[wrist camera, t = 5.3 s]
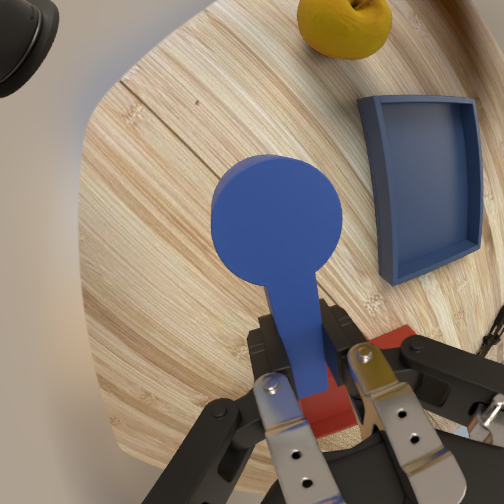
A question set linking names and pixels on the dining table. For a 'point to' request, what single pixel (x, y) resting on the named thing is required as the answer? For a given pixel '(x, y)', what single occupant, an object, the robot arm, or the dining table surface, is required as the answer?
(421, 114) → the blue tray
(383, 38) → the apple
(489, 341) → the knife
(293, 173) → the spoon
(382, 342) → the red tray
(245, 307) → the dining table surface
